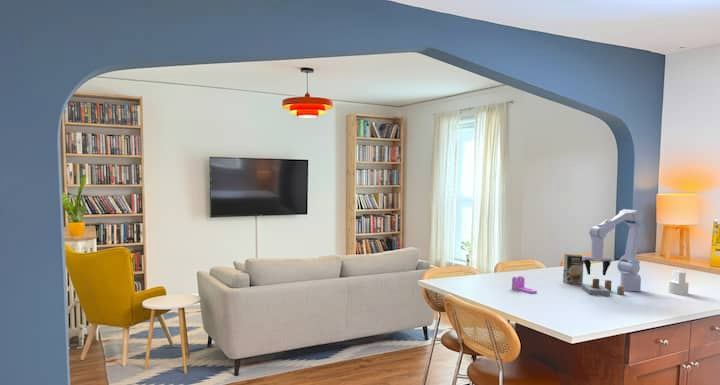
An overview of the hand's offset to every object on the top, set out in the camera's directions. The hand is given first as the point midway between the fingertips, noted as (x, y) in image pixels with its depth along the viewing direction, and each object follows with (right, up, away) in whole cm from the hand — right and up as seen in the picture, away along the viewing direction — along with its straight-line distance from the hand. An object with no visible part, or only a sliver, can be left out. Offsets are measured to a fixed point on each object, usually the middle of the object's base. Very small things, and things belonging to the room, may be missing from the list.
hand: (596, 274), depth 259 cm
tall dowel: (0, -9, 0) cm, 9 cm away
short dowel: (+11, -10, -3) cm, 15 cm away
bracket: (-38, -9, -1) cm, 39 cm away
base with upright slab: (+46, -11, +4) cm, 47 cm away
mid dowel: (+9, -10, +5) cm, 14 cm away
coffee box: (-3, -9, +23) cm, 25 cm away
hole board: (0, -9, 0) cm, 9 cm away
